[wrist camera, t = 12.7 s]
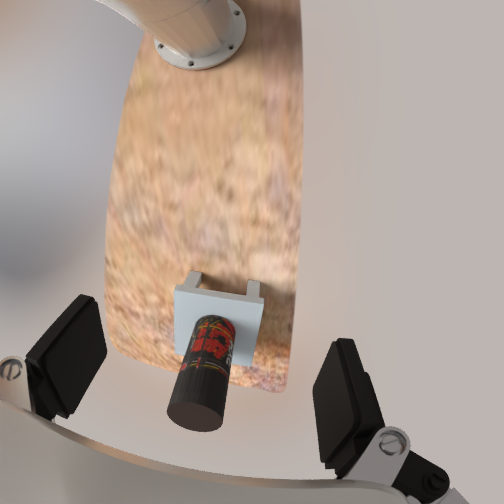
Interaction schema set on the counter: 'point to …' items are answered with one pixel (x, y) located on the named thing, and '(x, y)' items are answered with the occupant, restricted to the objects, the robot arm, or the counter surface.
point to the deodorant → (204, 376)
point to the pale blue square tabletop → (222, 304)
